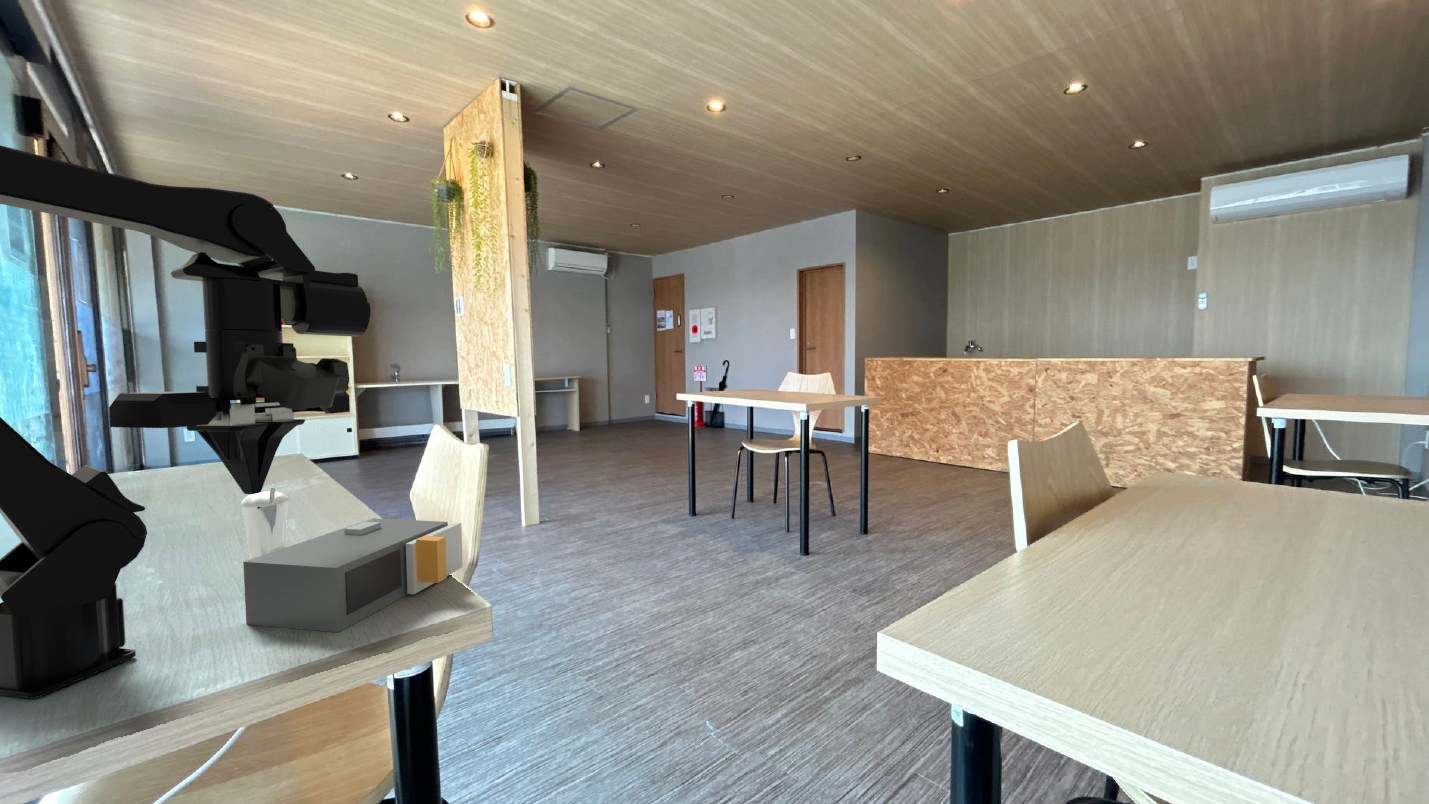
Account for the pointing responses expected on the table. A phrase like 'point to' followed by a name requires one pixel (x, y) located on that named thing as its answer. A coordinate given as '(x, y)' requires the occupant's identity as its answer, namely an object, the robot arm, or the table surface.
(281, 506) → the milkshake
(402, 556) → the block
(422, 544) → the side door
